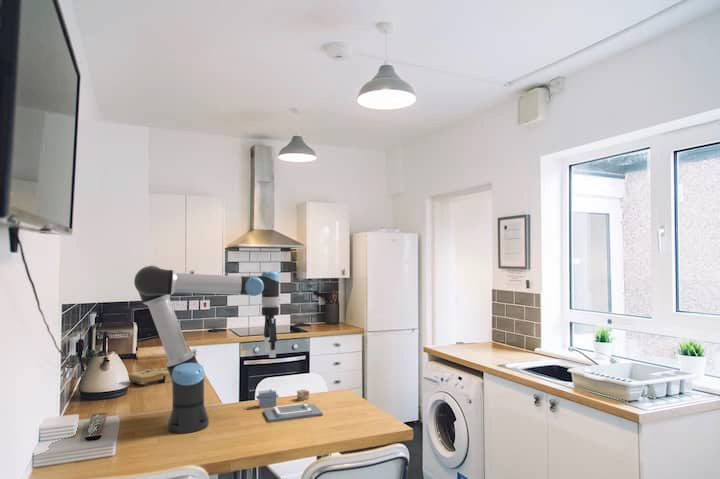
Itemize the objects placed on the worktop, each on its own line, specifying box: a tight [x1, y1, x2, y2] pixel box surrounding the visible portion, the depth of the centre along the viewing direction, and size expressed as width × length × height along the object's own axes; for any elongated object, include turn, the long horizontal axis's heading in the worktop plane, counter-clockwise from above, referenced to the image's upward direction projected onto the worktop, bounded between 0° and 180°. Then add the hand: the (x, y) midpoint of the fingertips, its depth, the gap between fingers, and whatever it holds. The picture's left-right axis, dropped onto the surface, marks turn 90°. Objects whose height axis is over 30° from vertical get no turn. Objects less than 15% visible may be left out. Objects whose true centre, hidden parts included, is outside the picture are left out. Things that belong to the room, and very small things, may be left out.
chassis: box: [262, 402, 324, 423], centre depth 206 cm, size 22×14×2 cm, turn 110°
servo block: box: [255, 388, 280, 409], centre depth 217 cm, size 9×4×7 cm, turn 110°
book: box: [128, 366, 172, 387], centre depth 266 cm, size 25×17×6 cm
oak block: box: [296, 389, 310, 402], centre depth 227 cm, size 4×4×4 cm
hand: (269, 354), depth 218 cm, fingers open, 13 cm apart
